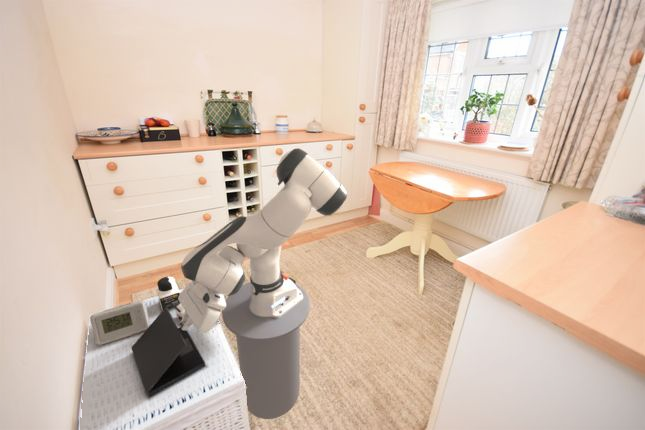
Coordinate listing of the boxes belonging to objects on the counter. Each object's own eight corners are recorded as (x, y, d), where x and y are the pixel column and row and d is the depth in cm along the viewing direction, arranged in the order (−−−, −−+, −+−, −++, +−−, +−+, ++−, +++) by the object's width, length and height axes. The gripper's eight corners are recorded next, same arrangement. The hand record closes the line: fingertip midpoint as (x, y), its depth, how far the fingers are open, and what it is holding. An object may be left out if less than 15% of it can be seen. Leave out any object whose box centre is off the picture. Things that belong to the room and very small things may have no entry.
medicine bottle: (163, 312, 114) (156, 287, 109) (159, 302, 119) (153, 278, 114) (182, 305, 118) (177, 281, 113) (178, 295, 123) (173, 272, 118)
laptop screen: (167, 307, 100) (165, 307, 99) (187, 344, 86) (184, 344, 85) (133, 348, 96) (131, 347, 96) (148, 393, 83) (145, 393, 82)
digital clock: (94, 348, 98) (85, 324, 93) (102, 328, 105) (94, 305, 101) (149, 336, 103) (142, 313, 99) (152, 318, 111) (147, 296, 106)
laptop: (184, 328, 107) (183, 325, 106) (205, 366, 93) (204, 362, 92) (134, 352, 97) (133, 347, 96) (149, 397, 83) (148, 393, 83)
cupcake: (195, 308, 116) (190, 284, 111) (201, 317, 112) (197, 292, 107) (170, 320, 110) (164, 294, 106) (175, 329, 106) (169, 304, 101)
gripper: (189, 273, 100) (164, 308, 98) (212, 304, 86) (184, 345, 84) (203, 278, 105) (180, 312, 103) (228, 309, 91) (202, 348, 89)
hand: (182, 327), depth 93 cm, fingers closed
